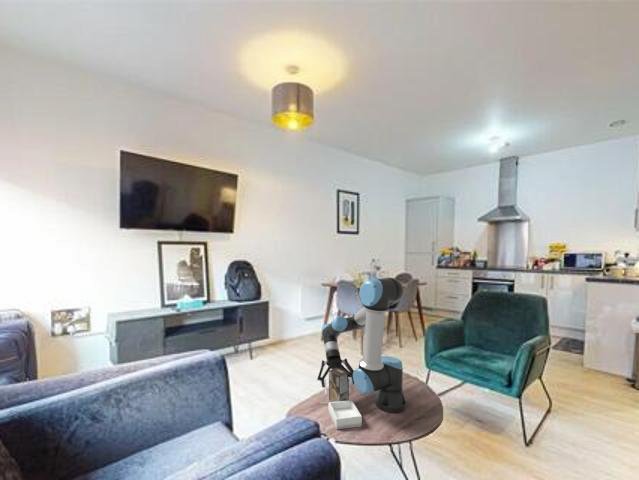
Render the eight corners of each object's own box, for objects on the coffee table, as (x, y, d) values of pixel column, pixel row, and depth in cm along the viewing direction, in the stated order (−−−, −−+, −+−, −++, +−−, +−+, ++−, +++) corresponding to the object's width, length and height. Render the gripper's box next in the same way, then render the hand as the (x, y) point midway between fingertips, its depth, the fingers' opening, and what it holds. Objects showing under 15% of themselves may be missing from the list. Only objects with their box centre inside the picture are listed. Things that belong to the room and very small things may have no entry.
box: (351, 408, 156) (351, 399, 156) (361, 426, 141) (361, 416, 141) (328, 411, 153) (328, 402, 153) (336, 429, 139) (336, 419, 139)
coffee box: (349, 405, 159) (349, 373, 159) (339, 409, 155) (339, 376, 155) (337, 398, 166) (337, 367, 166) (328, 401, 163) (328, 370, 162)
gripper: (352, 353, 179) (361, 392, 164) (308, 356, 173) (314, 397, 159) (355, 346, 173) (365, 387, 159) (310, 350, 168) (316, 392, 154)
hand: (339, 392), depth 159 cm, fingers open, 13 cm apart
